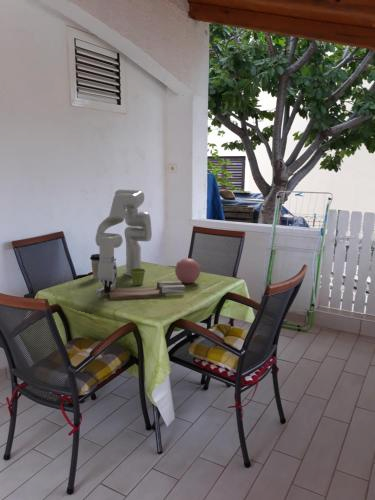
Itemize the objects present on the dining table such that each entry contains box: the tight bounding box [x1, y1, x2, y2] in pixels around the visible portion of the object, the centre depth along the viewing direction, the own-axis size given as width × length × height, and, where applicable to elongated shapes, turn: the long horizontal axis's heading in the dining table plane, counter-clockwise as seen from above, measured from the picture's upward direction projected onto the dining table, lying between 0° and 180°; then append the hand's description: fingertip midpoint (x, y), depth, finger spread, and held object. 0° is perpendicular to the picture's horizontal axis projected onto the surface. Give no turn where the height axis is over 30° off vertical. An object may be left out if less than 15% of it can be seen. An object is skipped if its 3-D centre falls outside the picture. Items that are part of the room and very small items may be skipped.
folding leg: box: [95, 283, 117, 297], centre depth 222 cm, size 15×3×3 cm, turn 154°
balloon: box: [174, 257, 201, 284], centre depth 251 cm, size 15×20×15 cm
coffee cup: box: [89, 253, 100, 281], centre depth 253 cm, size 9×9×15 cm
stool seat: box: [108, 280, 186, 301], centre depth 228 cm, size 14×42×5 cm, turn 104°
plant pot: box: [130, 267, 146, 286], centre depth 245 cm, size 9×9×9 cm
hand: (107, 292), depth 217 cm, fingers closed
